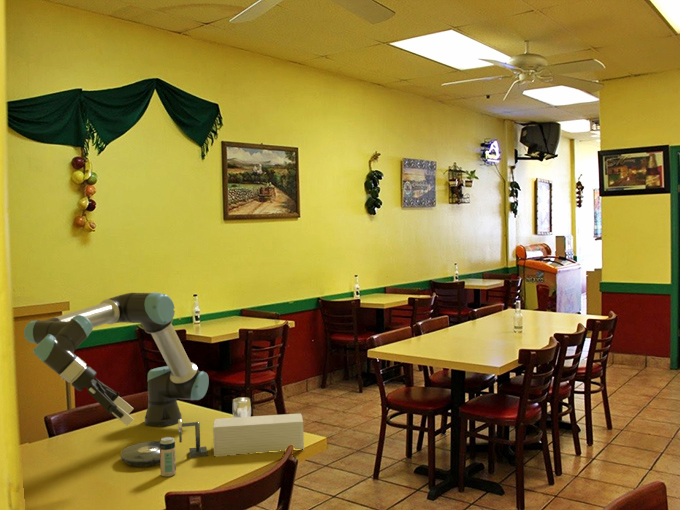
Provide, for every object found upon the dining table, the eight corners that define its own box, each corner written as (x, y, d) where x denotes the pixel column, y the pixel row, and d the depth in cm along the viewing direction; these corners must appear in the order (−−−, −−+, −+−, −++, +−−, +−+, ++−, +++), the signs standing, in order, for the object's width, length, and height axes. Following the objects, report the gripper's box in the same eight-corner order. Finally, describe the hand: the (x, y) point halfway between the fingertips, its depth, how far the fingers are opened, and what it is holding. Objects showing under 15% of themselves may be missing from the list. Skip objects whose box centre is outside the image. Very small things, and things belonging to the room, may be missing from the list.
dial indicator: (179, 453, 228) (178, 417, 228) (206, 450, 231) (205, 414, 230) (179, 458, 222) (178, 421, 222) (207, 455, 225) (206, 419, 224)
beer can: (170, 471, 211) (169, 435, 211) (178, 474, 208) (177, 438, 208) (157, 475, 207) (156, 439, 207) (166, 478, 204) (165, 441, 204)
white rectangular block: (301, 441, 239) (301, 413, 239) (304, 451, 228) (303, 421, 228) (215, 447, 235) (214, 418, 234) (214, 457, 224) (213, 427, 224)
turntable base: (118, 463, 219) (118, 460, 219) (145, 450, 232) (145, 447, 232) (151, 468, 214) (151, 464, 214) (177, 454, 227) (176, 451, 227)
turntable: (109, 460, 218) (109, 454, 218) (144, 444, 235) (144, 438, 234) (152, 466, 211) (152, 460, 211) (184, 449, 228) (184, 443, 228)
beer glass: (250, 440, 241) (249, 401, 240) (232, 440, 241) (230, 401, 240) (253, 434, 248) (252, 396, 247) (235, 435, 248) (234, 397, 247)
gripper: (73, 375, 209) (122, 416, 214) (66, 392, 186) (121, 437, 191) (90, 358, 211) (138, 399, 216) (85, 372, 187) (139, 417, 192)
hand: (130, 417), depth 203 cm, fingers open, 13 cm apart
